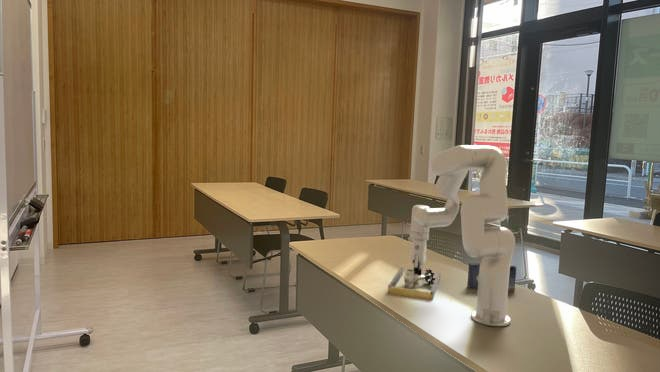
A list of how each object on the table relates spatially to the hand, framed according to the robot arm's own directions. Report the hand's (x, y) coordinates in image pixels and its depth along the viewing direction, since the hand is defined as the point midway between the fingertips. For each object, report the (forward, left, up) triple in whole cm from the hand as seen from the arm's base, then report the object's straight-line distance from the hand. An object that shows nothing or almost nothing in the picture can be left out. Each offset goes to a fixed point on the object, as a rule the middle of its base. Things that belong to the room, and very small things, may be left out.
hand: (416, 278), depth 205 cm
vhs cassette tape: (+3, -29, -2) cm, 30 cm away
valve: (-5, -1, -2) cm, 6 cm away
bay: (-6, 0, -1) cm, 6 cm away
